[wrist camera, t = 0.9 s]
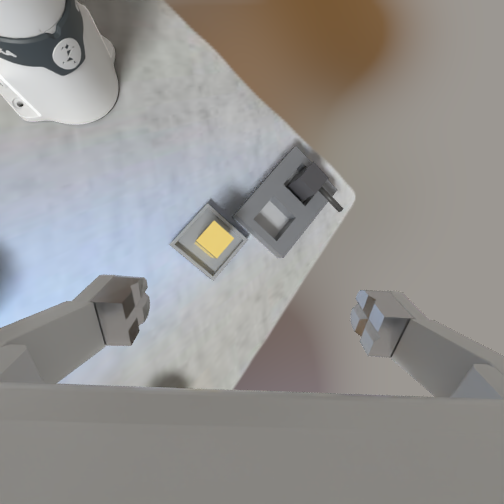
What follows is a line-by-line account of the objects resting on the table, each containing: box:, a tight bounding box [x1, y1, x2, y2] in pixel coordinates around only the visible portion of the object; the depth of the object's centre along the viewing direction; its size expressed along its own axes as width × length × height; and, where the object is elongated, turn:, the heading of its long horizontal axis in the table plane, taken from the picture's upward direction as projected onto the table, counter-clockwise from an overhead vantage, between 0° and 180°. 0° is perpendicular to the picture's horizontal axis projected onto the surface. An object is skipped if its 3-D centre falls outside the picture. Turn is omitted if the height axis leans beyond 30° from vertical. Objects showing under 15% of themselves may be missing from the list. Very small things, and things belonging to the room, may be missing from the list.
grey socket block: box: [233, 146, 343, 258], centre depth 44 cm, size 14×18×8 cm
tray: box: [169, 203, 248, 281], centre depth 43 cm, size 10×10×1 cm
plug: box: [195, 221, 234, 259], centre depth 39 cm, size 4×4×9 cm
